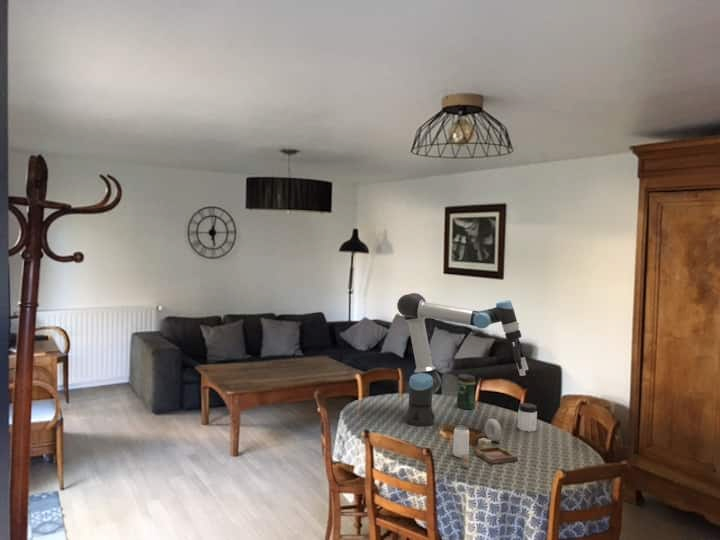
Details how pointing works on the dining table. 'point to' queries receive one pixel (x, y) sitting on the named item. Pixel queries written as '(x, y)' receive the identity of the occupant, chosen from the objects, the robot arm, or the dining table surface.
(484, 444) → the beech block
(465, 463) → the cork
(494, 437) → the white round disc
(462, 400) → the coffee jar
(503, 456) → the walnut tray
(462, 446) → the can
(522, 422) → the jar
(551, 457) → the dining table surface
